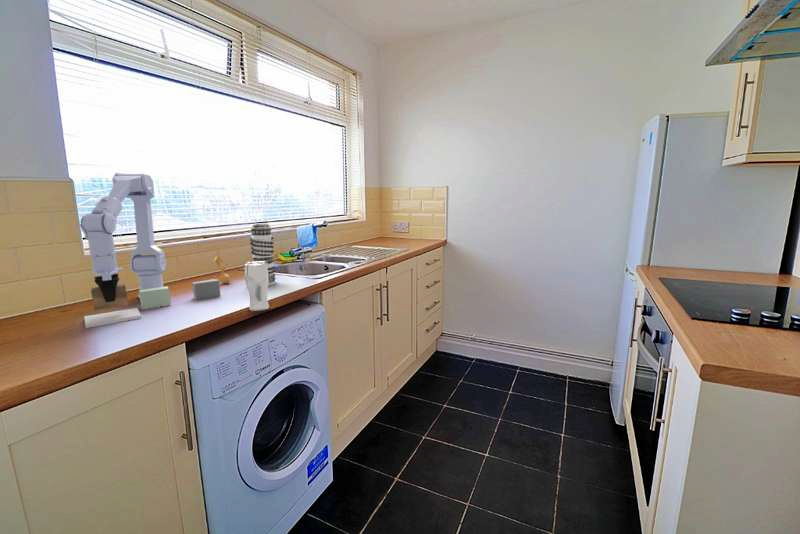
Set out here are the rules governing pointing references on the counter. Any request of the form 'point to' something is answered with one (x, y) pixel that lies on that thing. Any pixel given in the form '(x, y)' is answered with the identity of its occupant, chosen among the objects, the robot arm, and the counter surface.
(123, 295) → the walnut brick
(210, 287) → the grey brick
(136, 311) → the white mat
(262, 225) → the decorative candle
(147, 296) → the sage brick
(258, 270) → the beer glass
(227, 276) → the figurine
